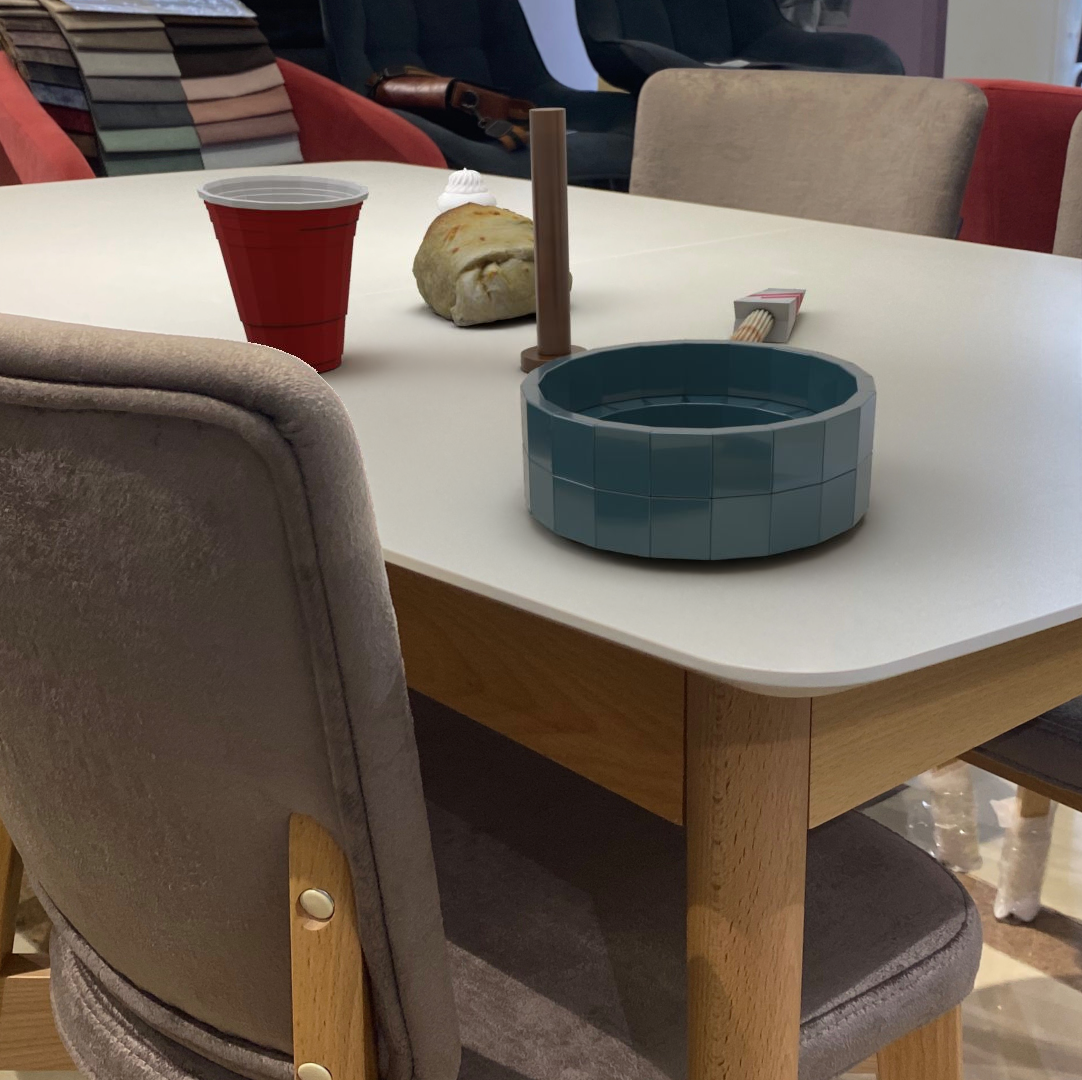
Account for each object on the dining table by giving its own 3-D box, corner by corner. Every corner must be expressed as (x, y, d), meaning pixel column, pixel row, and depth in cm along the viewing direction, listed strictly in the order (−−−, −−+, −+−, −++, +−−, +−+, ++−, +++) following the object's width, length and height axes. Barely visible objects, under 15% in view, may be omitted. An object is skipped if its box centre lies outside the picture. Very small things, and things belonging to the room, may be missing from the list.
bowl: (905, 476, 63) (914, 356, 61) (804, 599, 51) (811, 453, 48) (615, 438, 70) (613, 329, 68) (463, 537, 58) (455, 407, 55)
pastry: (459, 287, 110) (454, 190, 107) (598, 294, 106) (596, 193, 103) (378, 323, 98) (370, 215, 95) (530, 333, 94) (526, 220, 91)
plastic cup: (325, 393, 80) (305, 195, 76) (185, 379, 85) (159, 190, 80) (412, 352, 89) (400, 173, 85) (283, 341, 94) (264, 169, 89)
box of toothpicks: (815, 270, 96) (755, 346, 79) (813, 306, 97) (754, 389, 80) (763, 268, 97) (694, 342, 80) (762, 304, 98) (693, 384, 81)
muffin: (510, 237, 134) (507, 166, 131) (461, 244, 130) (457, 172, 128) (475, 230, 138) (471, 162, 136) (427, 238, 135) (422, 168, 132)
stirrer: (599, 362, 85) (596, 106, 79) (569, 378, 82) (562, 112, 76) (541, 356, 87) (533, 106, 81) (508, 371, 84) (497, 111, 78)
